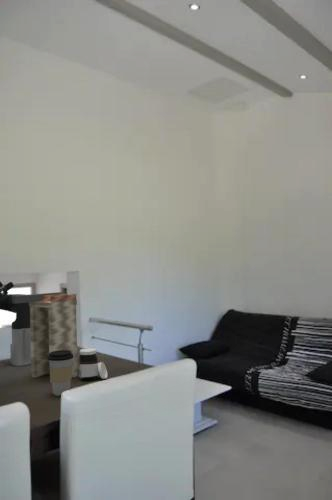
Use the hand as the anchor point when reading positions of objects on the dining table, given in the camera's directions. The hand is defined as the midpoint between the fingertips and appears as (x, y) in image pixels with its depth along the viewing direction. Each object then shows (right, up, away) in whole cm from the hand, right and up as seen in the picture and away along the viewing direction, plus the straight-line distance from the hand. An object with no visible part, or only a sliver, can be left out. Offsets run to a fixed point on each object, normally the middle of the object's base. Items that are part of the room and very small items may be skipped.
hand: (6, 283), depth 171 cm
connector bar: (+10, -8, +10) cm, 16 cm away
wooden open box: (+17, -40, +10) cm, 44 cm away
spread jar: (+34, -40, +5) cm, 52 cm away
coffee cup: (+25, -39, -14) cm, 49 cm away
